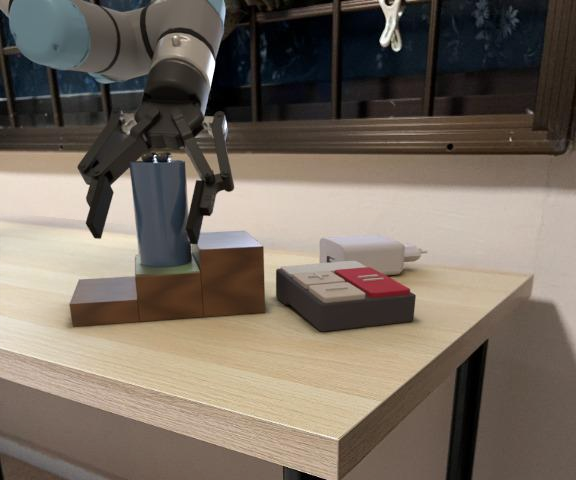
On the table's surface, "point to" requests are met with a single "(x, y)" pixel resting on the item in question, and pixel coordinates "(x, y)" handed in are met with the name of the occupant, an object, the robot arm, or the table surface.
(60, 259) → the table surface
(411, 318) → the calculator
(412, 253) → the charger
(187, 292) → the step shelf
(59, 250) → the table surface
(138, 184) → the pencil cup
